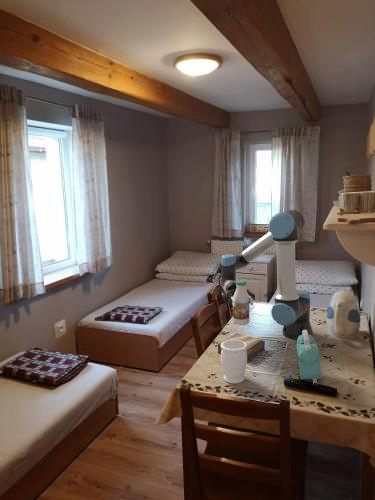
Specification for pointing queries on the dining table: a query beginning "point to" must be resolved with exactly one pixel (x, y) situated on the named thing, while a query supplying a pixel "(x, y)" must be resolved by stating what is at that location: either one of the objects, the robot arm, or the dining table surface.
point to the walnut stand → (252, 343)
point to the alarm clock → (308, 357)
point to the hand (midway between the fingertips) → (243, 303)
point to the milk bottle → (241, 304)
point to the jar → (233, 360)
